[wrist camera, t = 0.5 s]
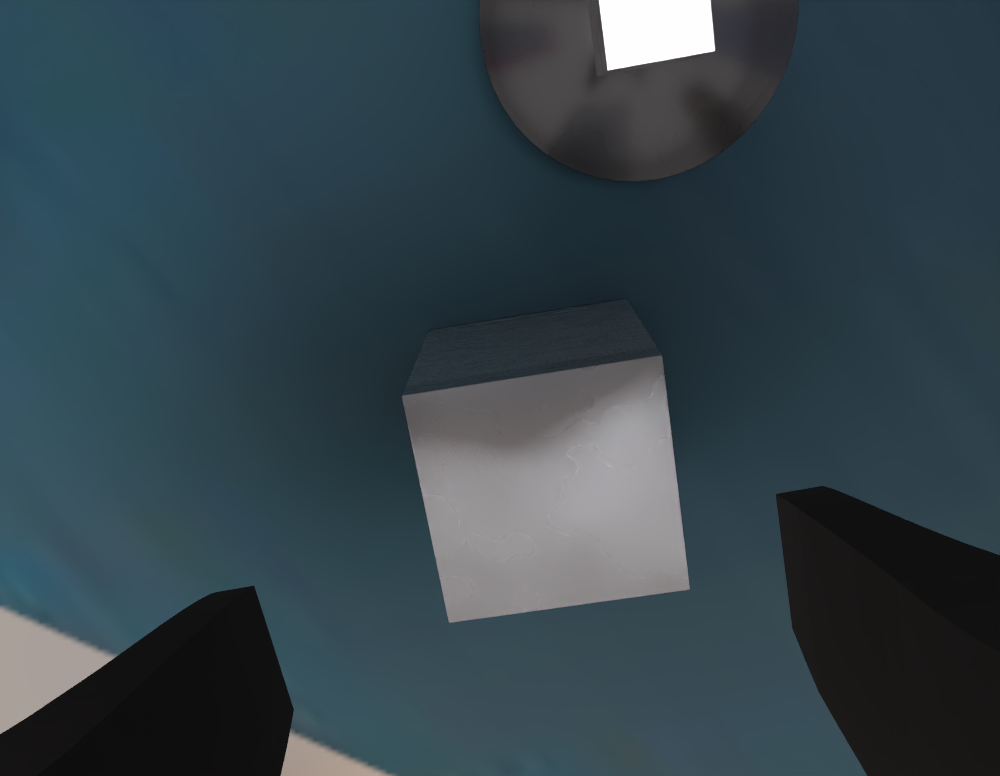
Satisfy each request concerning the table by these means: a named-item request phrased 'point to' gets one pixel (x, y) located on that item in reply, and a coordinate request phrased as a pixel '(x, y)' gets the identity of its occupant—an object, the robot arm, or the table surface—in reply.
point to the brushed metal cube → (546, 461)
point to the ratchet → (635, 77)
